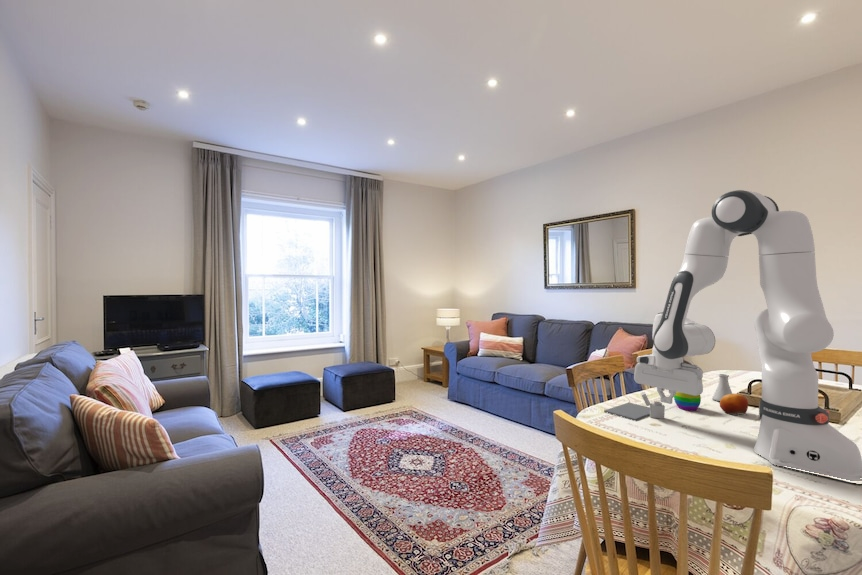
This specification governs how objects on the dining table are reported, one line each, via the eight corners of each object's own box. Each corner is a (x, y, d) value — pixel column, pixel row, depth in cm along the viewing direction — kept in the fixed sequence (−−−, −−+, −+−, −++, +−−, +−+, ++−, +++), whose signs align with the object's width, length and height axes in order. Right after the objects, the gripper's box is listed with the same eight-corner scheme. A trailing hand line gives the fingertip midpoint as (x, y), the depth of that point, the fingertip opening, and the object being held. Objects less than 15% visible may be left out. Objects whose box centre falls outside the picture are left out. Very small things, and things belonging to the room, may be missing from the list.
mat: (659, 411, 144) (659, 409, 144) (635, 420, 135) (635, 418, 135) (628, 404, 153) (628, 402, 153) (604, 412, 144) (604, 410, 144)
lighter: (663, 417, 138) (664, 393, 138) (664, 419, 137) (665, 395, 136) (639, 414, 140) (640, 391, 140) (640, 416, 139) (641, 393, 138)
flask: (707, 399, 159) (708, 373, 158) (719, 397, 162) (719, 372, 162) (728, 404, 152) (728, 377, 152) (739, 402, 155) (739, 375, 155)
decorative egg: (701, 413, 142) (701, 384, 142) (673, 409, 147) (673, 381, 147) (700, 407, 149) (700, 379, 149) (674, 403, 154) (674, 377, 153)
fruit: (742, 415, 135) (730, 391, 139) (722, 421, 142) (711, 398, 146) (760, 413, 138) (748, 389, 142) (740, 418, 144) (729, 396, 148)
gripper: (707, 365, 128) (706, 409, 128) (641, 354, 144) (640, 394, 145) (698, 367, 124) (697, 413, 124) (632, 356, 141) (631, 396, 141)
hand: (666, 402), depth 135 cm, fingers closed
